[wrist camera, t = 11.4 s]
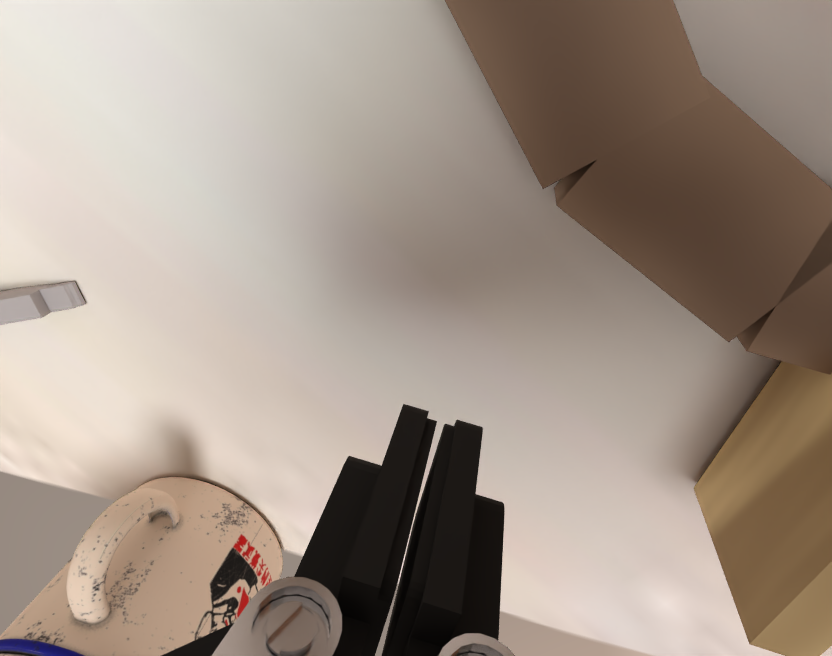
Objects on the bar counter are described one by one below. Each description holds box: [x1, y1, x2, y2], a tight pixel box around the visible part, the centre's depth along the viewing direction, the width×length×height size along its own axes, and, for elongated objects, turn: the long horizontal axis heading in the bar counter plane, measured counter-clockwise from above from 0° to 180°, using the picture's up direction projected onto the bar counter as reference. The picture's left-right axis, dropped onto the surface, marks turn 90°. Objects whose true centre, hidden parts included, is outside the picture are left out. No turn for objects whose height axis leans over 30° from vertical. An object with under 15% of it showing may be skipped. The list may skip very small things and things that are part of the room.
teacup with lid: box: [0, 477, 283, 656], centre depth 21 cm, size 12×9×12 cm
